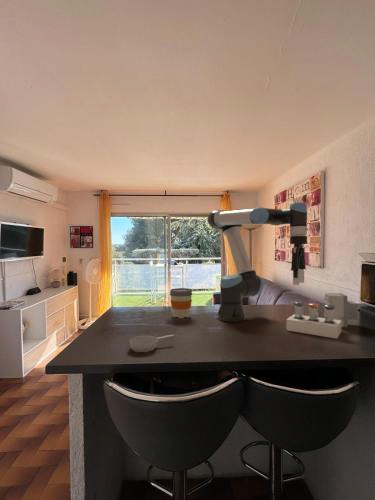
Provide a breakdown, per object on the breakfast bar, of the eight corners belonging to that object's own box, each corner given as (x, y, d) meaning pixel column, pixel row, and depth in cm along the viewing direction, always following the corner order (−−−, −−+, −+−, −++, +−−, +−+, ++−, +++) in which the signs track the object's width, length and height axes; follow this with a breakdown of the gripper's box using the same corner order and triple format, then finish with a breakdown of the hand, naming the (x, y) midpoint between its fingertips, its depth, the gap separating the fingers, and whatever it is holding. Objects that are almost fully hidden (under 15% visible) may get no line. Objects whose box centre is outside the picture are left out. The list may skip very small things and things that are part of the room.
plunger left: (292, 321, 132) (292, 302, 132) (295, 319, 135) (295, 301, 135) (302, 322, 129) (302, 303, 129) (304, 320, 133) (304, 302, 133)
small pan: (127, 346, 112) (126, 336, 112) (169, 339, 119) (169, 331, 119) (133, 356, 102) (132, 345, 102) (178, 348, 109) (178, 338, 109)
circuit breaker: (361, 327, 132) (361, 296, 132) (329, 326, 135) (329, 295, 135) (355, 323, 140) (355, 293, 139) (324, 322, 143) (324, 292, 142)
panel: (286, 330, 130) (286, 319, 130) (293, 324, 139) (293, 314, 139) (337, 338, 117) (337, 326, 117) (341, 331, 127) (341, 320, 127)
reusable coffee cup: (196, 315, 160) (196, 289, 160) (184, 320, 150) (184, 292, 150) (178, 312, 167) (178, 287, 167) (165, 317, 157) (165, 290, 156)
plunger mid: (307, 323, 128) (307, 304, 128) (309, 321, 131) (309, 302, 131) (317, 325, 125) (317, 305, 125) (319, 322, 129) (319, 303, 129)
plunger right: (322, 325, 124) (322, 306, 124) (324, 323, 128) (324, 304, 128) (334, 327, 122) (333, 307, 121) (335, 325, 125) (335, 305, 125)
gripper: (301, 234, 121) (301, 287, 121) (312, 236, 138) (312, 281, 138) (283, 235, 125) (283, 285, 126) (296, 236, 142) (296, 280, 143)
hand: (298, 283), depth 132 cm, fingers open, 8 cm apart
